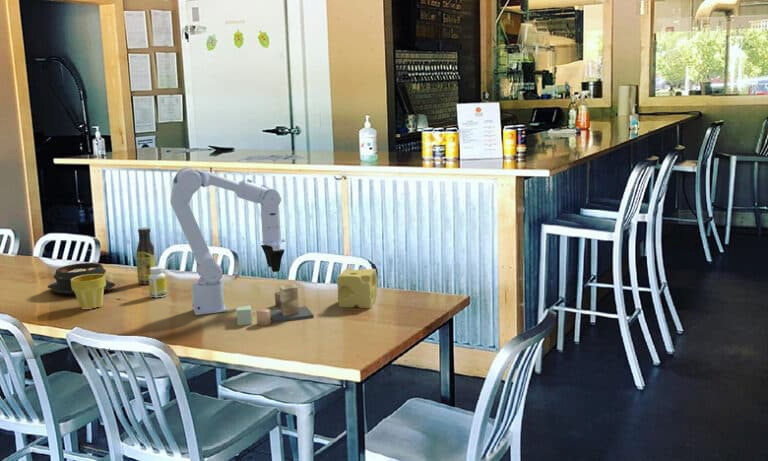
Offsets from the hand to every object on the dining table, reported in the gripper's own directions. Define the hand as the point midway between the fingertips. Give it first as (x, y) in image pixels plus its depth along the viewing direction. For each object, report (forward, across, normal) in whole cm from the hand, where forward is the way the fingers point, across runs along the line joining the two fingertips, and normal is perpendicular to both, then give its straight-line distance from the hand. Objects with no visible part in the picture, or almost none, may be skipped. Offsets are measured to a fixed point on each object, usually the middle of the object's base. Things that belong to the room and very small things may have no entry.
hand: (273, 269), depth 248 cm
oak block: (+10, -18, -1) cm, 20 cm away
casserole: (+11, +43, +60) cm, 75 cm away
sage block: (+10, -20, +12) cm, 25 cm away
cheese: (+11, -14, -23) cm, 29 cm away
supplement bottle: (+11, +23, +35) cm, 43 cm away
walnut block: (+10, -6, -2) cm, 12 cm away
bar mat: (+10, -18, -1) cm, 21 cm away
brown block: (+10, -23, +8) cm, 26 cm away
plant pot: (+11, +19, +56) cm, 60 cm away
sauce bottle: (+11, +44, +38) cm, 59 cm away
